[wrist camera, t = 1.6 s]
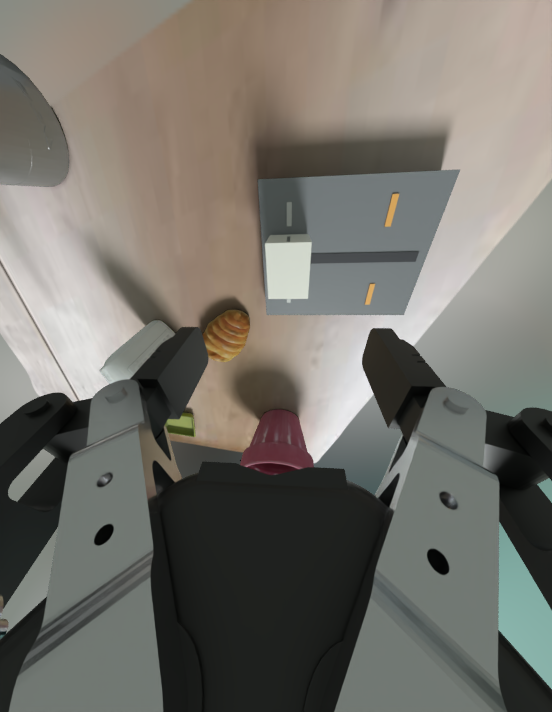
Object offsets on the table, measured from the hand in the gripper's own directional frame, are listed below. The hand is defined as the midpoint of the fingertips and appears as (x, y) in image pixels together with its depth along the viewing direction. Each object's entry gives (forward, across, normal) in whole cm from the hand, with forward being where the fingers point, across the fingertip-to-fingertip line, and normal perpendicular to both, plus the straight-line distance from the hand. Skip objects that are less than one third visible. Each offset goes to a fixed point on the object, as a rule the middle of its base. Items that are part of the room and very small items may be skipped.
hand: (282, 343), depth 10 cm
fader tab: (+17, 0, 0) cm, 17 cm away
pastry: (+20, +10, +12) cm, 26 cm away
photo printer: (+20, +20, +14) cm, 32 cm away
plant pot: (+20, +2, +36) cm, 41 cm away
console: (+20, -6, 0) cm, 21 cm away
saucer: (+21, +27, +37) cm, 50 cm away
